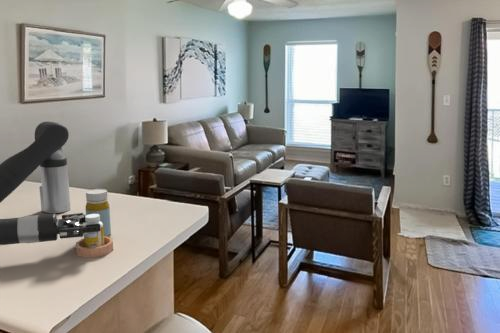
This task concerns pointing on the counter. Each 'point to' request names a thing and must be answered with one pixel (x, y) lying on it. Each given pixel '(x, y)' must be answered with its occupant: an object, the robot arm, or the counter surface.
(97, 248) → the terracotta dish
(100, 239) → the supplement bottle
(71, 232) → the robot arm
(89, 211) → the bottle
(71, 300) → the counter surface
